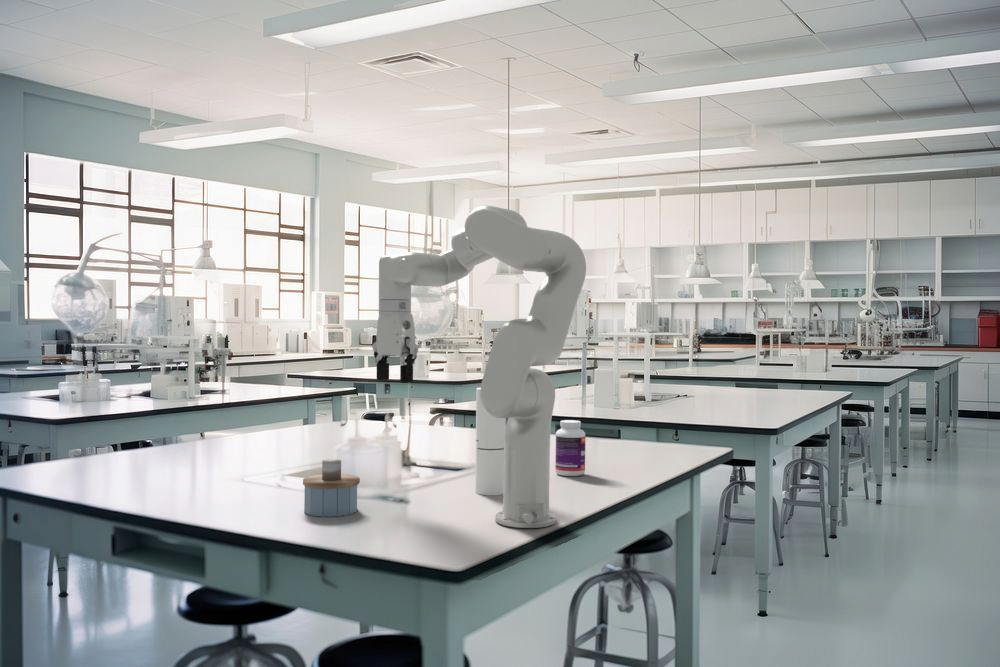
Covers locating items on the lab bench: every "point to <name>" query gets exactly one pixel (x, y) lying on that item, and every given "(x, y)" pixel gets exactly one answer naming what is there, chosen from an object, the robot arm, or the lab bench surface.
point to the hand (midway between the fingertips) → (394, 381)
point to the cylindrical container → (489, 451)
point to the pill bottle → (570, 449)
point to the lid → (331, 477)
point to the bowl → (330, 501)
